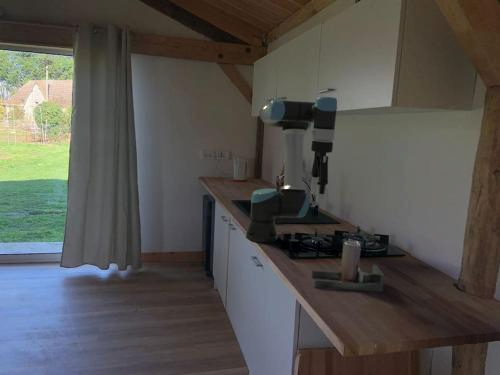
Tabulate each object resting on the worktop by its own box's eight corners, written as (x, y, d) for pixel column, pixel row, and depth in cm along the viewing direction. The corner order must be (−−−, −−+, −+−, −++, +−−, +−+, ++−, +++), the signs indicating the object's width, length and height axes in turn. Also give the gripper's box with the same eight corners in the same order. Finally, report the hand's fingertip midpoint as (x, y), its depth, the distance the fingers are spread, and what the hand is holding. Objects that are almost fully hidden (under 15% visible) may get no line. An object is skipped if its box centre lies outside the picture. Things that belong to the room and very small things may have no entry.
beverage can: (344, 279, 146) (348, 239, 144) (359, 283, 142) (363, 243, 140) (336, 283, 142) (340, 242, 139) (352, 288, 138) (356, 247, 135)
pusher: (354, 280, 145) (355, 267, 144) (363, 280, 145) (365, 267, 144) (359, 288, 138) (360, 274, 138) (368, 288, 138) (370, 274, 137)
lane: (310, 276, 147) (312, 260, 146) (374, 280, 147) (376, 264, 145) (314, 287, 137) (316, 270, 136) (382, 291, 137) (384, 275, 136)
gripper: (307, 137, 157) (302, 190, 161) (318, 143, 132) (312, 205, 137) (326, 138, 157) (321, 191, 161) (340, 144, 132) (334, 207, 137)
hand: (317, 198), depth 149 cm, fingers open, 13 cm apart
